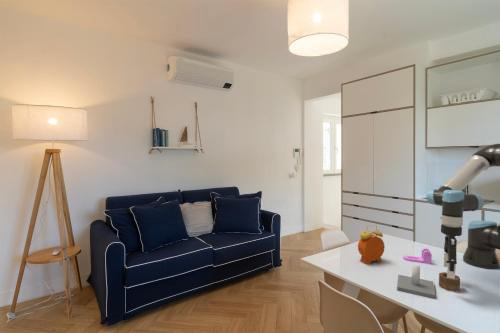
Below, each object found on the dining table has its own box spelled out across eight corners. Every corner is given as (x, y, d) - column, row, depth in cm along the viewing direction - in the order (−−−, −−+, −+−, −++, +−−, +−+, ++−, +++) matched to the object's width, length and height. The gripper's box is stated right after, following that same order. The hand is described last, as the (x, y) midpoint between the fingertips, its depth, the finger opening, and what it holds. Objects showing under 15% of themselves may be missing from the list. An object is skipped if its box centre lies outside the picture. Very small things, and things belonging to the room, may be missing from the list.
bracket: (429, 260, 153) (429, 248, 153) (431, 264, 148) (431, 251, 148) (402, 257, 158) (403, 245, 158) (403, 260, 153) (404, 248, 153)
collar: (458, 285, 124) (458, 274, 124) (460, 292, 118) (461, 281, 118) (438, 281, 128) (438, 271, 128) (439, 288, 122) (440, 277, 121)
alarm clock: (376, 257, 157) (377, 223, 156) (384, 261, 151) (385, 225, 150) (357, 260, 153) (357, 225, 152) (364, 264, 147) (365, 228, 146)
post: (433, 284, 125) (433, 264, 125) (435, 298, 113) (436, 276, 113) (398, 277, 132) (398, 258, 132) (397, 290, 120) (397, 268, 120)
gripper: (438, 218, 134) (436, 261, 135) (444, 230, 113) (441, 281, 114) (457, 220, 130) (455, 264, 131) (467, 233, 109) (464, 285, 110)
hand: (448, 272), depth 123 cm, fingers open, 13 cm apart
